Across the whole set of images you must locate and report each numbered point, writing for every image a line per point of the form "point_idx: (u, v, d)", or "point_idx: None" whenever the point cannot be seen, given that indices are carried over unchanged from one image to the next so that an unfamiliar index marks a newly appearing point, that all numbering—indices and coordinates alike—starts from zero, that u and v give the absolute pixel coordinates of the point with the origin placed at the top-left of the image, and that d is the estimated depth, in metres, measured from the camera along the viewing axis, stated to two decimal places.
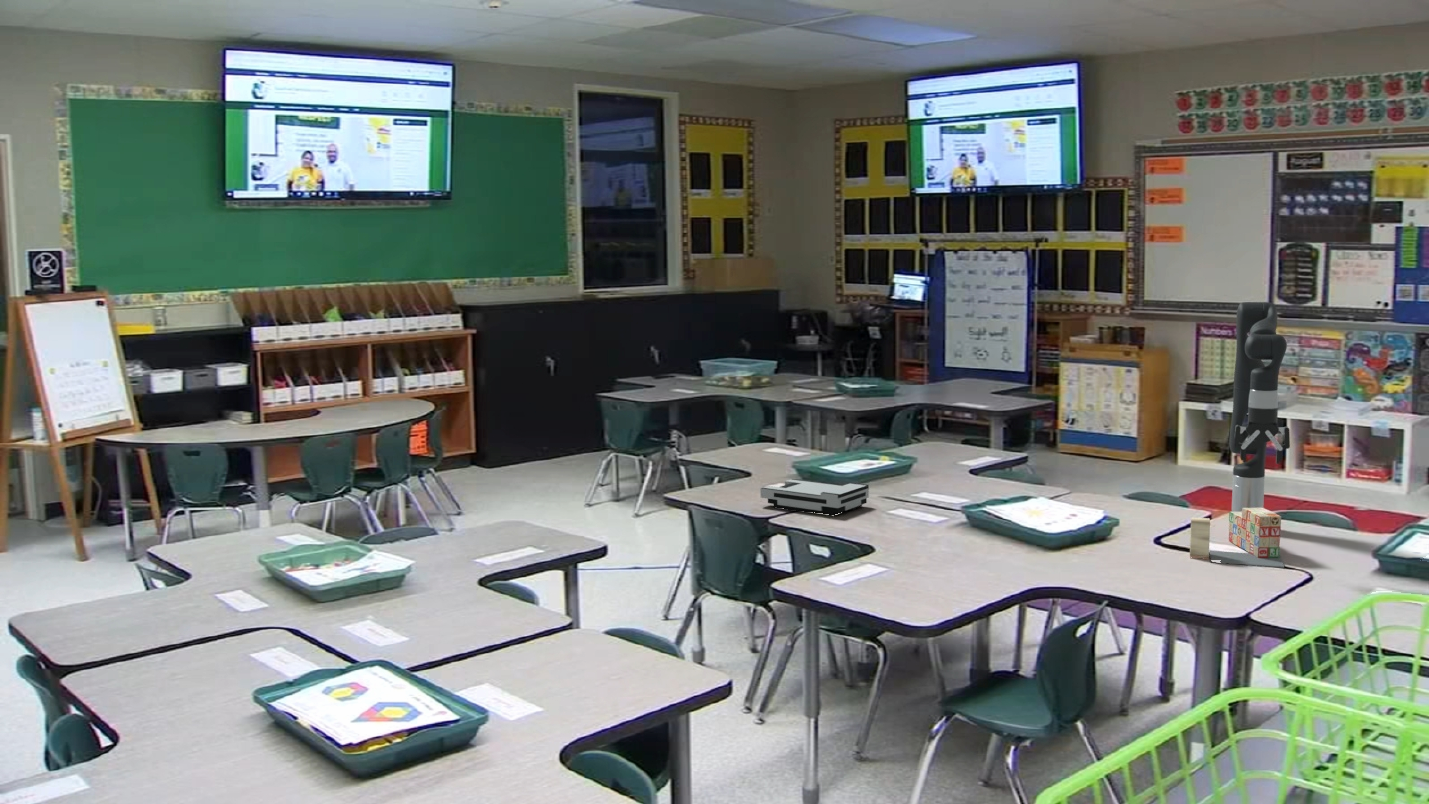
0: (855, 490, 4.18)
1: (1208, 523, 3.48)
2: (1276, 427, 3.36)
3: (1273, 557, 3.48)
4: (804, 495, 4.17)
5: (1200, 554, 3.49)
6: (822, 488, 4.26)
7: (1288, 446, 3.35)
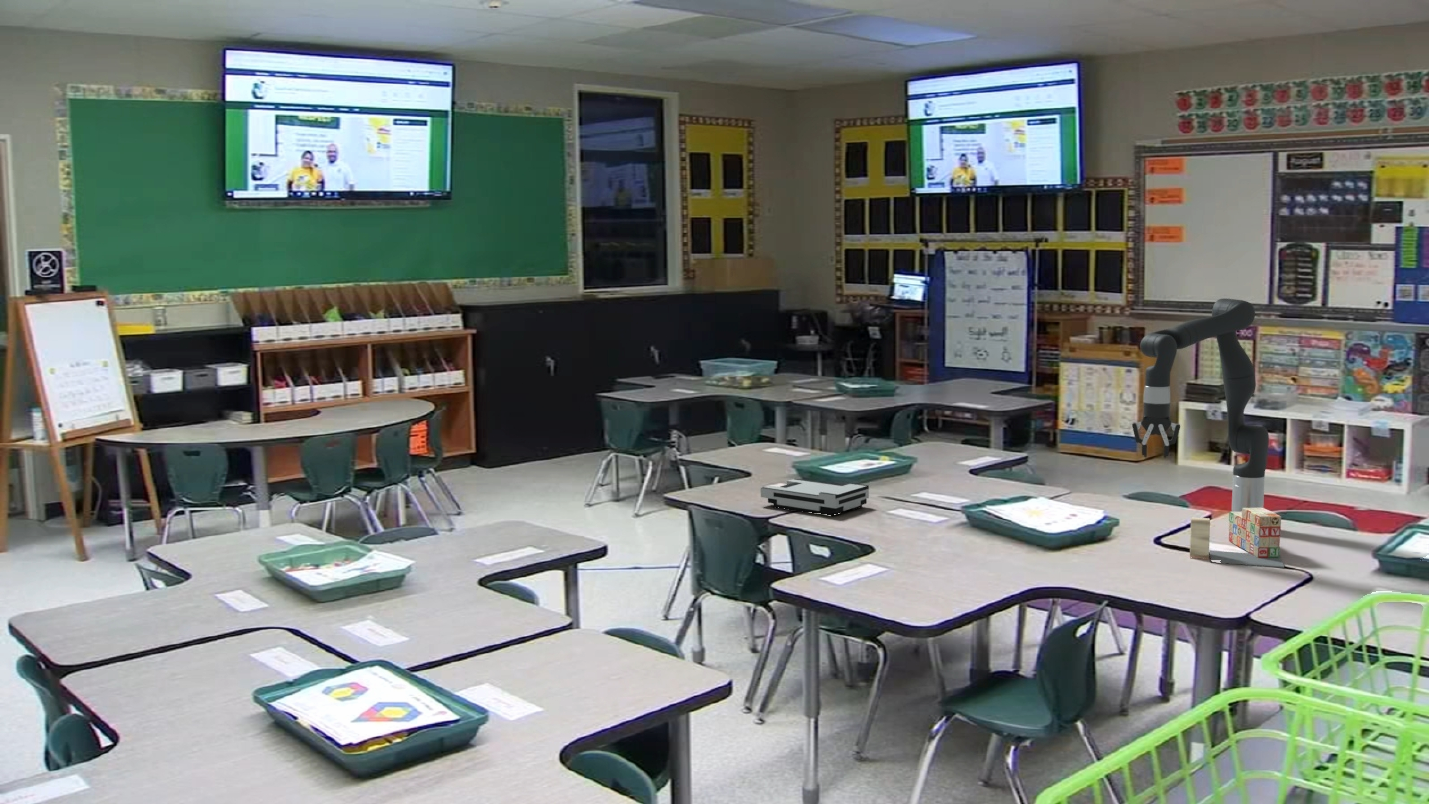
0: (854, 490, 4.17)
1: (1208, 523, 3.48)
2: (1169, 422, 3.58)
3: (1273, 557, 3.48)
4: (803, 495, 4.17)
5: (1200, 554, 3.49)
6: (822, 488, 4.26)
7: (1174, 441, 3.58)
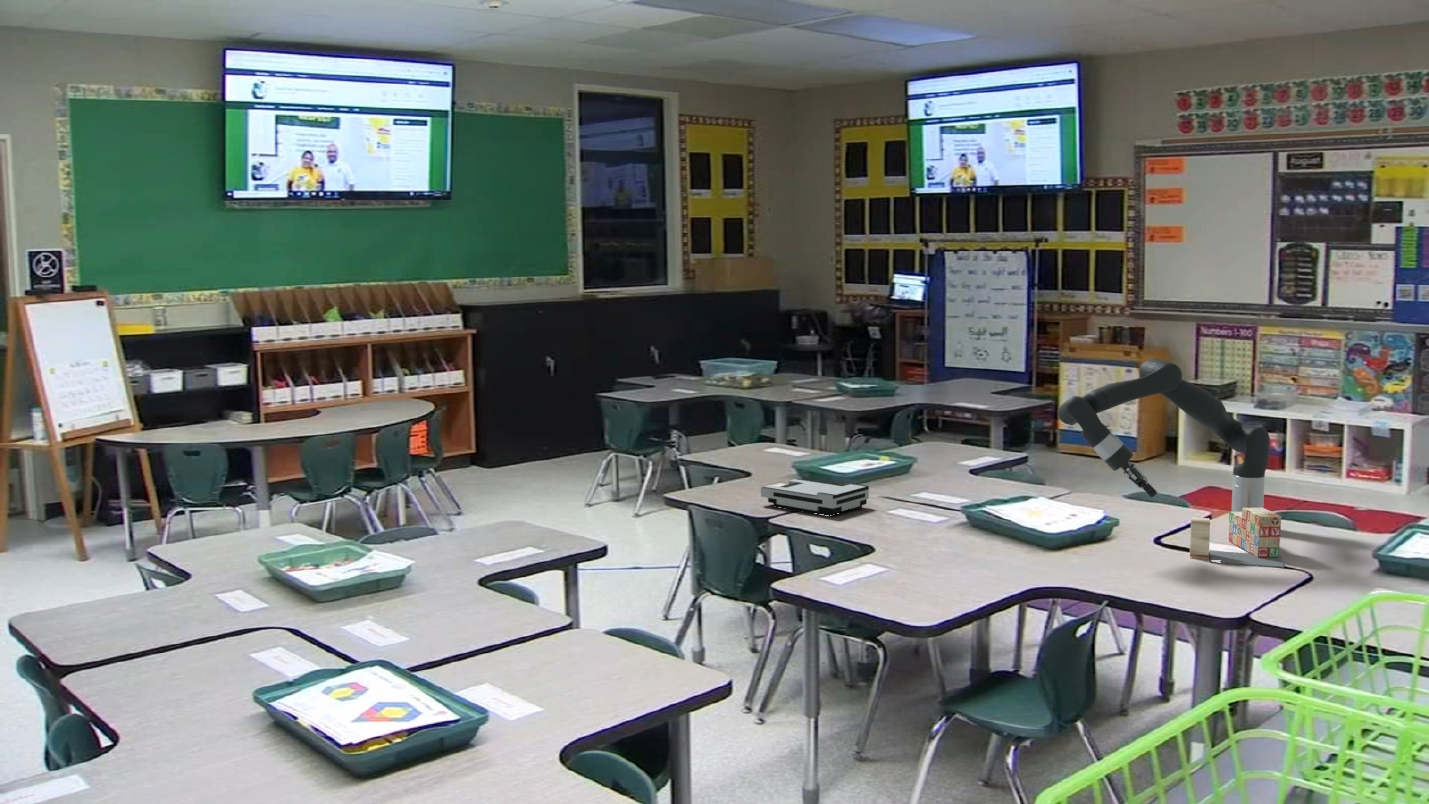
0: (853, 491, 4.17)
1: (1208, 523, 3.48)
2: (1125, 471, 3.52)
3: (1273, 557, 3.48)
4: (801, 495, 4.17)
5: (1200, 554, 3.49)
6: (822, 488, 4.26)
7: (1138, 486, 3.52)
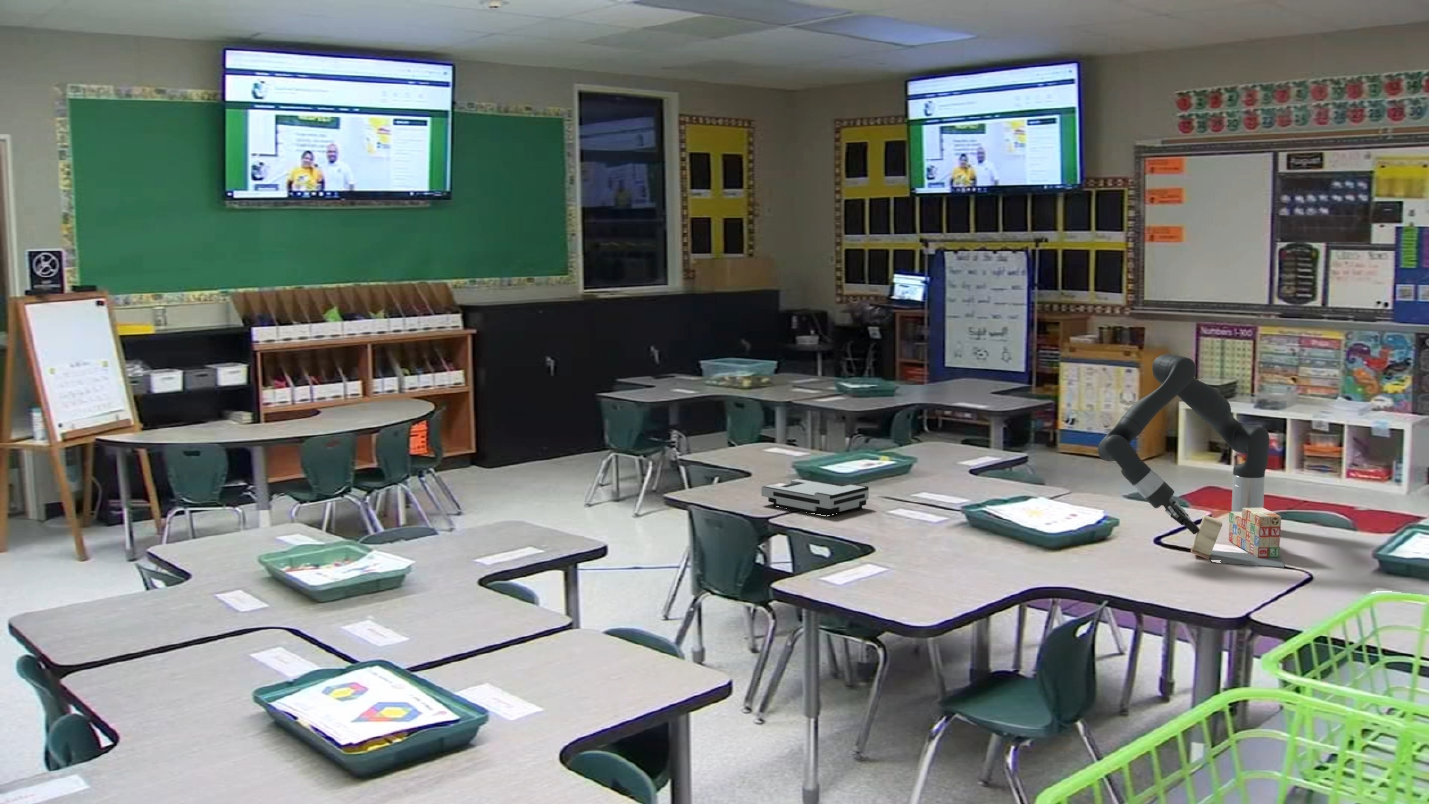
0: (851, 491, 4.16)
1: (1220, 525, 3.46)
2: (1166, 509, 3.50)
3: (1273, 557, 3.48)
4: (800, 495, 4.17)
5: (1202, 552, 3.49)
6: (822, 488, 4.25)
7: None
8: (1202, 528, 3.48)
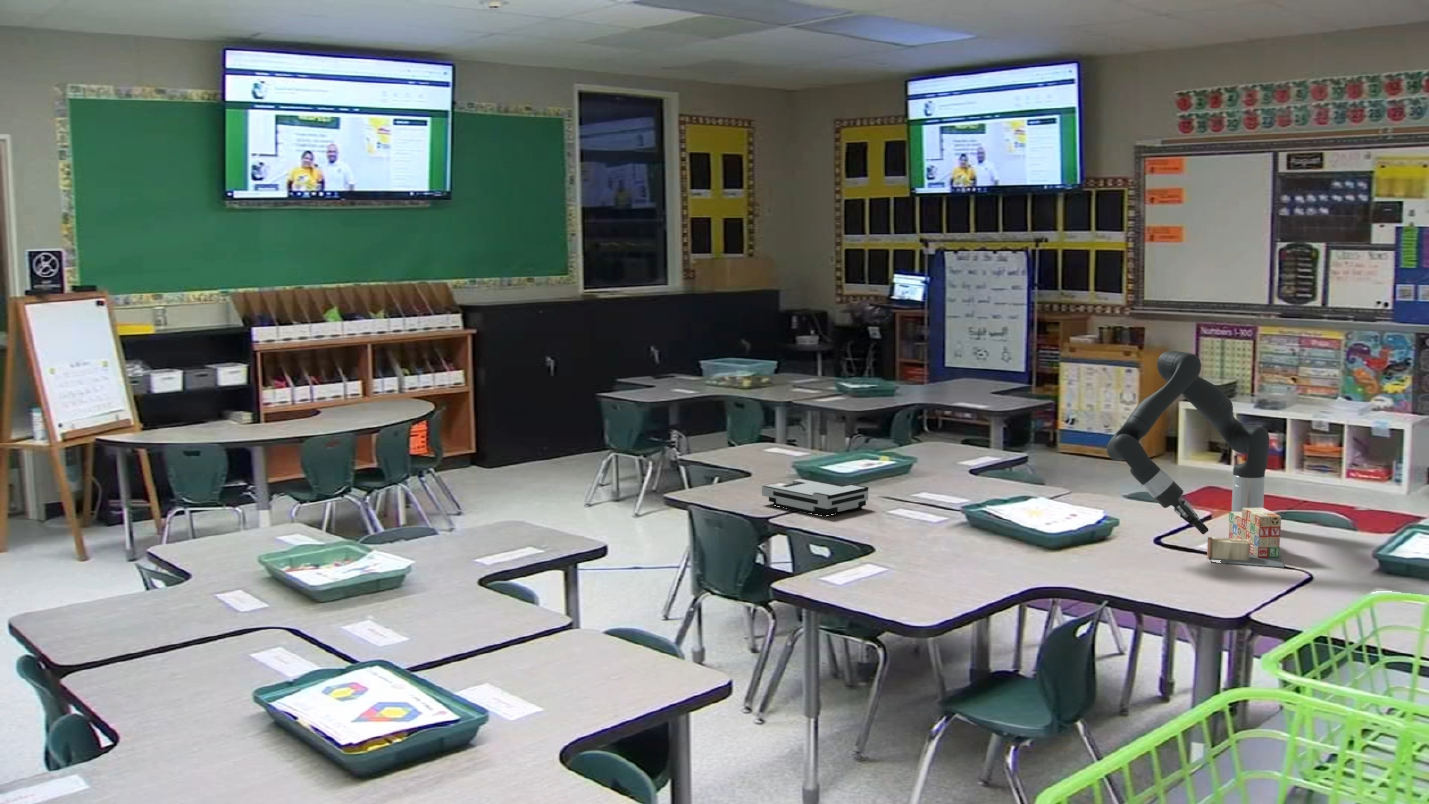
0: (850, 492, 4.15)
1: (1247, 559, 3.45)
2: (1176, 509, 3.49)
3: (1273, 557, 3.48)
4: (799, 495, 4.18)
5: (1212, 550, 3.48)
6: (822, 488, 4.25)
7: (1190, 524, 3.49)
8: (1238, 544, 3.45)
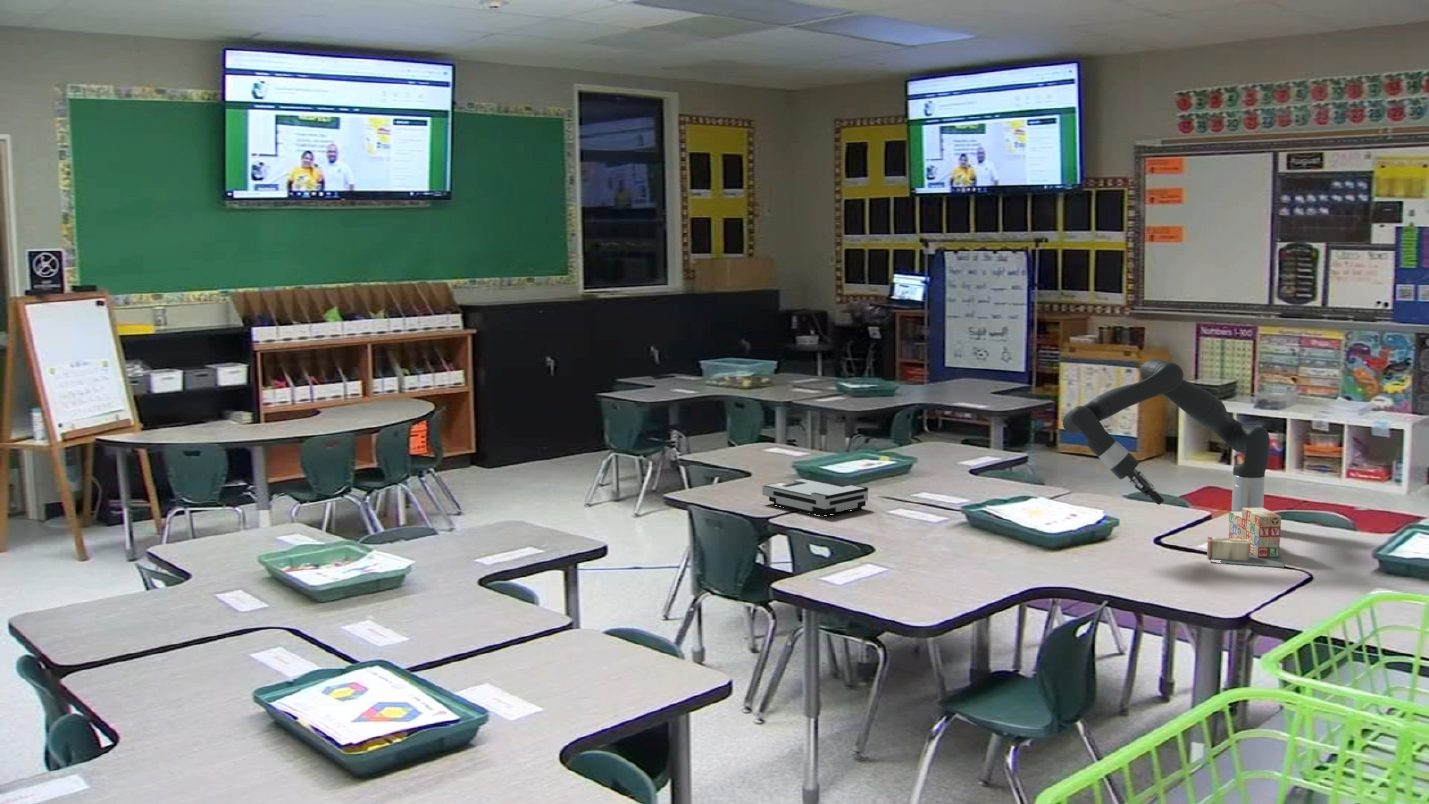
0: (849, 492, 4.15)
1: (1247, 559, 3.45)
2: (1131, 480, 3.52)
3: (1273, 557, 3.48)
4: (798, 495, 4.18)
5: (1212, 550, 3.48)
6: (822, 489, 4.25)
7: (1145, 494, 3.52)
8: (1238, 544, 3.45)
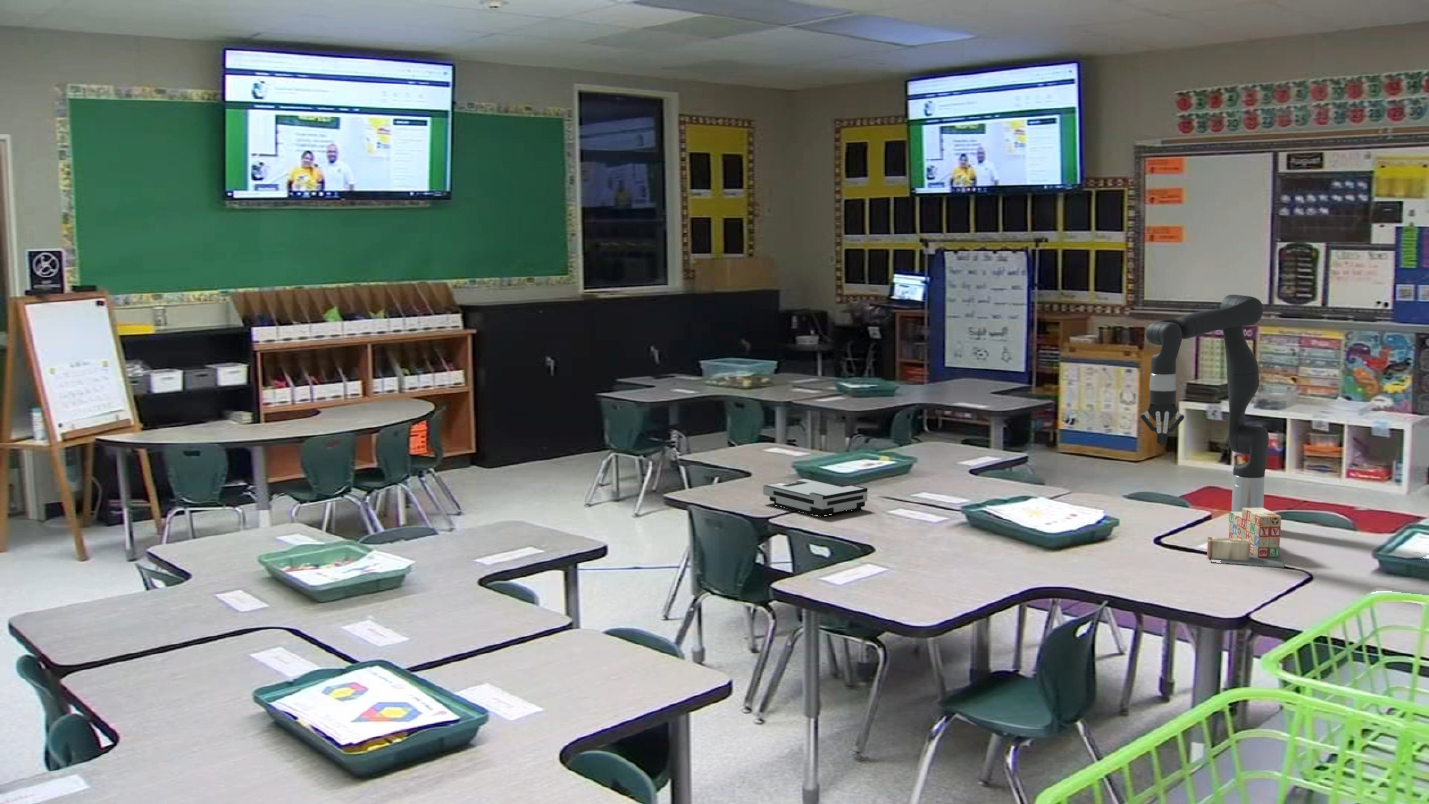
0: (848, 492, 4.14)
1: (1247, 559, 3.45)
2: (1176, 410, 3.60)
3: (1273, 557, 3.48)
4: (796, 494, 4.18)
5: (1212, 550, 3.48)
6: (822, 489, 4.25)
7: (1172, 429, 3.61)
8: (1238, 544, 3.45)
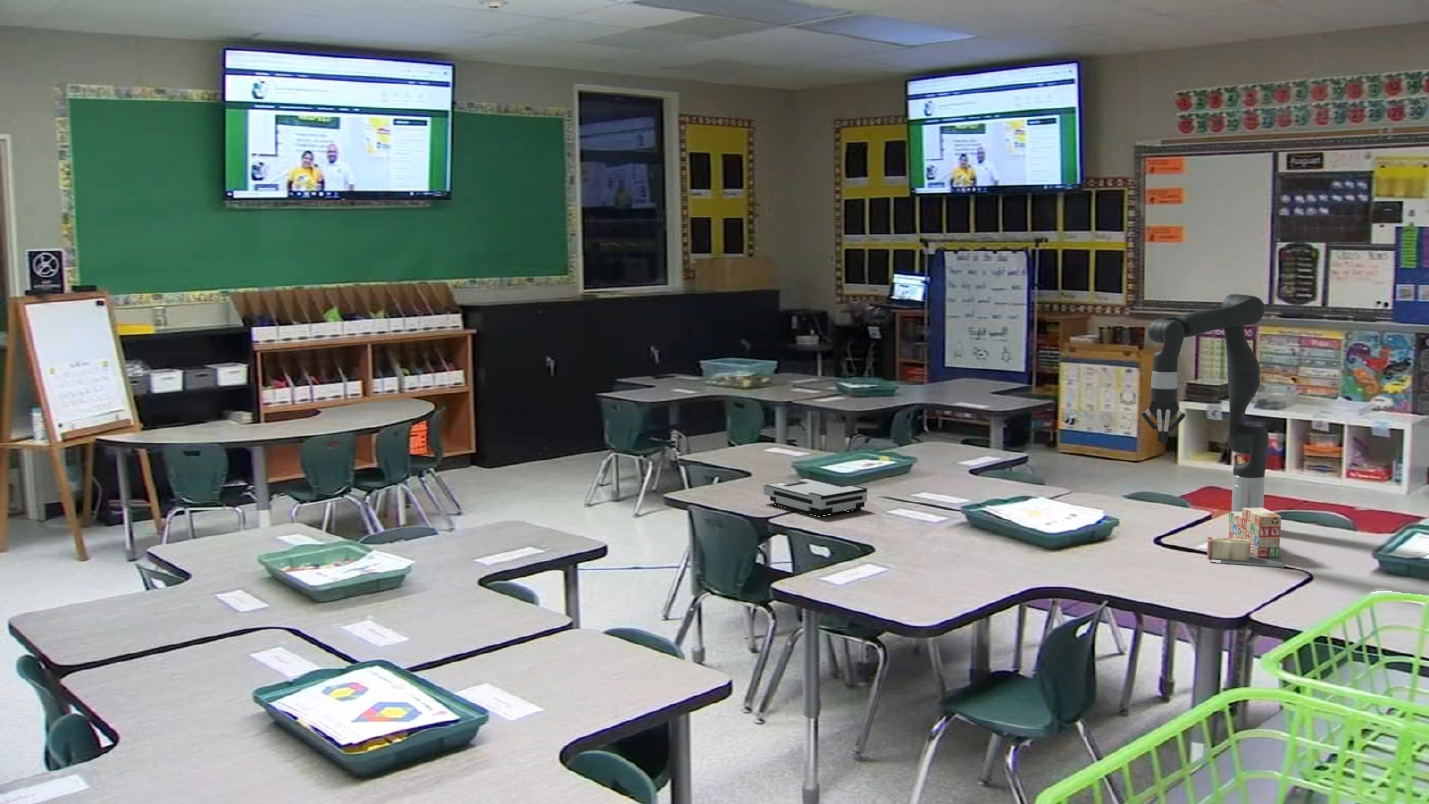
0: (847, 493, 4.14)
1: (1247, 559, 3.45)
2: (1177, 408, 3.60)
3: (1273, 557, 3.48)
4: (796, 494, 4.18)
5: (1212, 550, 3.48)
6: (821, 489, 4.25)
7: (1173, 427, 3.61)
8: (1238, 544, 3.45)
